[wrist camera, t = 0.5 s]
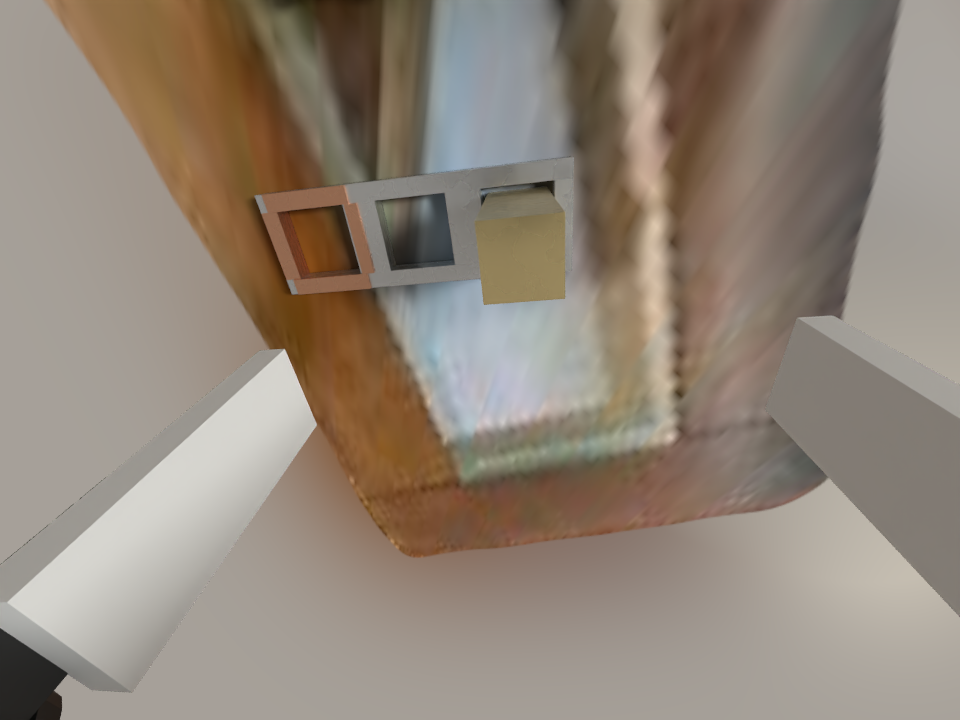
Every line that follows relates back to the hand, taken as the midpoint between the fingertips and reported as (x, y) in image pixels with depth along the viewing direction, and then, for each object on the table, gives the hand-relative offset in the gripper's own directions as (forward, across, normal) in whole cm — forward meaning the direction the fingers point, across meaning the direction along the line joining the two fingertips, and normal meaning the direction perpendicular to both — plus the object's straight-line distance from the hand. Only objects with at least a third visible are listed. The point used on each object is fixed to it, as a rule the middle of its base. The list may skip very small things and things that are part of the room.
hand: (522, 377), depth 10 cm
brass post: (+23, 0, 0) cm, 23 cm away
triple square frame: (+23, -8, 0) cm, 24 cm away
